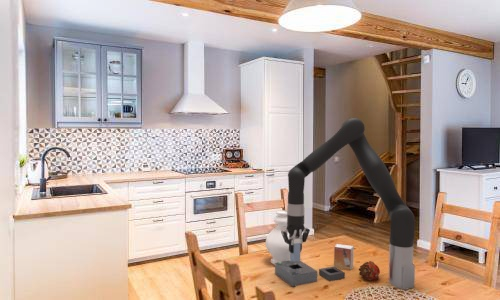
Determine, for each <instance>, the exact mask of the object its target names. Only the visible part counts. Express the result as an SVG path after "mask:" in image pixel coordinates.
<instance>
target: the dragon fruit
mask: <svg viewBox="0 0 500 300" xmlns="http://www.w3.org/2000/svg"><path fill="white" fill-rule="evenodd" d="M358 271H359V273H358V274H359V276H361V277H362V278H363V279H364V280H367V281H377V280H378V279H379V275H380V272H381V270H380V267H379V266H378V265H377V264H376V263H375V262H374V261H371V260H369V261H366V262H364V263H363V264H362V265H360V266H359V267H358Z"/></svg>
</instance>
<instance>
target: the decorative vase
mask: <svg viewBox="0 0 500 300" xmlns="http://www.w3.org/2000/svg"><path fill="white" fill-rule="evenodd" d="M275 214H276V216H275V217H274V219H273V221H274V223H275V224H276V226H275V227H274V228H273V229H272V230H270V232H269V234H268V235H267V237H266V238H265V248H266V250H267V252H268V253H269V254H270V256H271V257H272V258H271V259H270V263H271V264H272V265H274V266H275V263H277V262H283V261H289V260H290V251H289V244H287V243H285V241H284V238H283V236H282V233H281V231H284V230H286V229H287V226H288V225H287V209H285V210H284V209H283V210H282V209H280V210H276V212H275ZM287 236H288V239H289V233H288V235H287Z"/></svg>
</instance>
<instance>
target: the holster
mask: <svg viewBox="0 0 500 300" xmlns="http://www.w3.org/2000/svg"><path fill="white" fill-rule="evenodd" d="M318 275H319V276H320V277H322V278H324V279H326V280H327V281H328V282H331V281H332V282H333V281H338V280H342V279H343V280H344V279H345V277H346V272H345V271H343V270H341V269H340V268H336V267H334V265H332V266H329V267H328V266H327V267H322V268H319V269H318Z"/></svg>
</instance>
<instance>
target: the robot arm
mask: <svg viewBox="0 0 500 300" xmlns="http://www.w3.org/2000/svg"><path fill="white" fill-rule="evenodd" d="M365 130H366V129H365V124H364V122H363V121H362V120H361V119H359V118H356V117H352V118H348V119H346V120H345V121H344V122H343V123H342V124H341V127H340V128H339V129H338V130H337V131H336V133H335V134H334V135H333V136H331V137H330V138H329V139H328V140H326V141H325V142H324V143H322V144H321V145H320V146H318V147H317V148H316V149H315V150H313V151H312V152H311V153H310V154H308V155H307V156H306V157H305V158H304V159H303V160H302V161H300V162H299V163H297V164H295V165H294V166H293V167H292V168H291V169H289V170H288V173H287V180H288V193H287V206H286V207H287V209H286V211H287V225H288V226H287V229H286V230H284V231H281V233H282V236H283V238H284V241H285V243H287V244H289V251H290V253H293V251H294V245H293V244H294V240H295V237H298V238H300V253H301V252H302V249H303V243H306V241H307V240H308V237H309V235H310V234H309V233H310V231H311V230H310V229H309V228H308V227H305V194H304V193H305V192H304V191H305V181H306V180H305V178H307V177H308V176H309V175H310V174H311V173H314V172H315V171H317V170H318V169H319V168H321V167H322V166H323V165H324V164H325V163H326V162H327V161H329V160H330V159H331V158H332V157H333V156H334V155H336V154H337V153H338V152H339V151H340V150H342V149H343V148H344V147H345V146H347V145H349V147H350V148H351V150H352V151H353V153H354V155H355V157H356V159H357V161H358V163H359V166H360V168H361V169H362V172H363V174H364V176H365V178H366V179H367V181H368V183H369V184H370V185H371V188H372V189H373V190H374V191H375V193H376V194H377V195H378V196H379V198H380V199H381V201H382V203H383V205H384V207H385V210H386V212H387V214H388V217H389V220H390V233H389V234H390V235H389V244H388V245H389V246H388V247H389V251H388V254H389V255H388V283H389V284H390V285H391V286H393V287H394V288H398V289H401V290H408V289H412V288H413V289H414V288H415V282H416V281H415V276H416V275H415V274H416V273H415V272H416V266H415V264H414V241H415V233H416V232H415V229H416V227H415V226H416V217H415V214H414V212H413V211H412V210H411V209H410V208H409V206H407V204H406V203H405V202H404V200H403V198H402V197H401V195H400V193H398V190H397V188H396V186H395V182H394V180H393V177H392V175H391V174H390V171H389V170H388V168H387V165H386V164H385V162H384V161H383V159H382V158H381V156H379V155H378V153H377V152H376V151H375V150H374V149H373V148H372V146H371V145H370V143H369V141H368V139H367V137H366V135H365ZM288 233H289V239H288V236H287V235H288Z"/></svg>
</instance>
